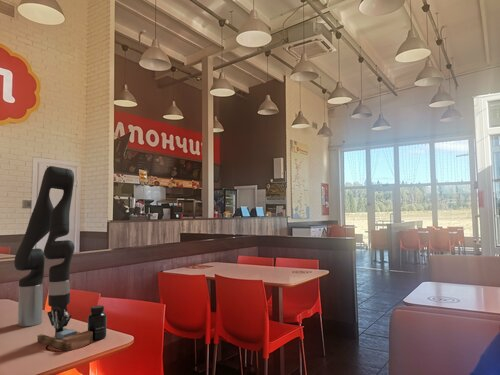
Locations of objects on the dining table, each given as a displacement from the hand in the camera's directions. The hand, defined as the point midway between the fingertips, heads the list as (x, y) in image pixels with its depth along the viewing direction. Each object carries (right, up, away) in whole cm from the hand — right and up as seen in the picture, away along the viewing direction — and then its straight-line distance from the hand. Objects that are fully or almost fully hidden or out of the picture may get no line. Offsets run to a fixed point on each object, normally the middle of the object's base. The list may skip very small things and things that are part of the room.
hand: (59, 337), depth 142 cm
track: (+3, -1, -2) cm, 4 cm away
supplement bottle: (+14, -1, +2) cm, 14 cm away
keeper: (+4, -1, -3) cm, 5 cm away
